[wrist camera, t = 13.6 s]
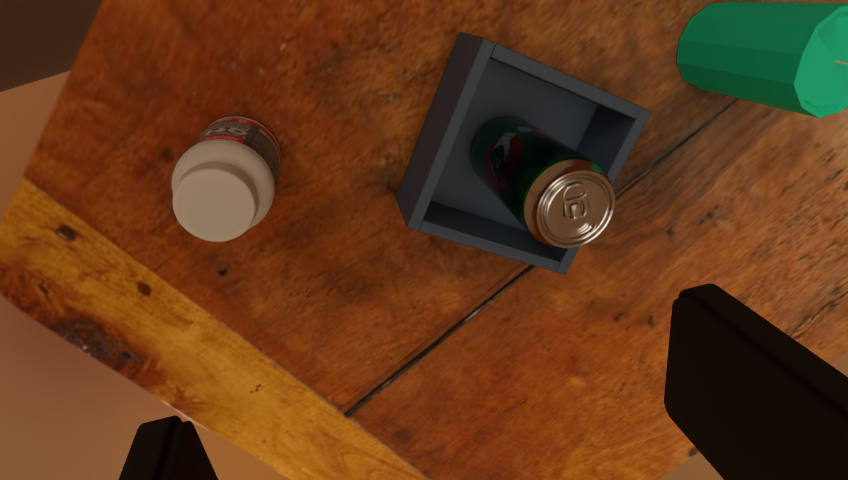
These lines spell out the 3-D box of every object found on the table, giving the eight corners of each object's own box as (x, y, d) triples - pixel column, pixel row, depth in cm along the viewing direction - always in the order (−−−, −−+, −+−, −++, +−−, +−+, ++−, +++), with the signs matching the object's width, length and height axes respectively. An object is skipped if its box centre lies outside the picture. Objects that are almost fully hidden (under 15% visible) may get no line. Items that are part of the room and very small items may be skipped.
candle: (664, 82, 39) (798, 116, 28) (694, -7, 36) (852, -8, 26) (732, 94, 40) (885, 130, 29) (765, 8, 38) (944, 14, 27)
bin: (395, 197, 38) (406, 227, 33) (459, 31, 34) (483, 37, 30) (535, 242, 42) (565, 275, 37) (608, 96, 38) (652, 111, 33)
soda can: (475, 191, 39) (536, 266, 28) (462, 125, 37) (522, 179, 26) (540, 173, 39) (625, 239, 28) (531, 106, 37) (619, 151, 26)
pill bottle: (248, 98, 34) (225, 134, 25) (297, 166, 36) (292, 221, 27) (178, 142, 34) (131, 193, 25) (232, 207, 37) (206, 274, 28)
